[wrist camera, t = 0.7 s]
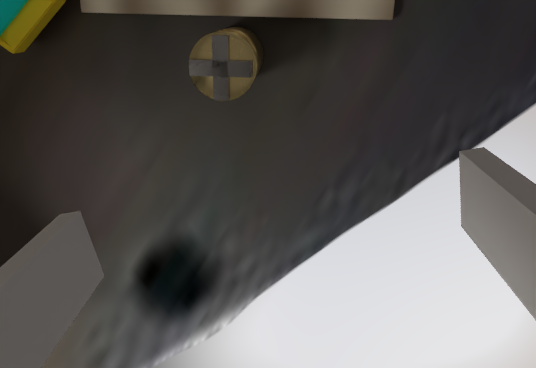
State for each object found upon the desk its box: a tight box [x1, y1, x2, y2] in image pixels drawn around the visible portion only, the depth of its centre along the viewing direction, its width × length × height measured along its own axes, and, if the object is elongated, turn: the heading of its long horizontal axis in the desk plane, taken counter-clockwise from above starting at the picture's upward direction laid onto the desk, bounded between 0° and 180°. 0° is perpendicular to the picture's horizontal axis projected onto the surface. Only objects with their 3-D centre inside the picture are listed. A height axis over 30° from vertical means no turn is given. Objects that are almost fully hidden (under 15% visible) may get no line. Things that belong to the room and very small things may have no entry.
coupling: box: [189, 27, 264, 101], centre depth 32 cm, size 4×4×9 cm
